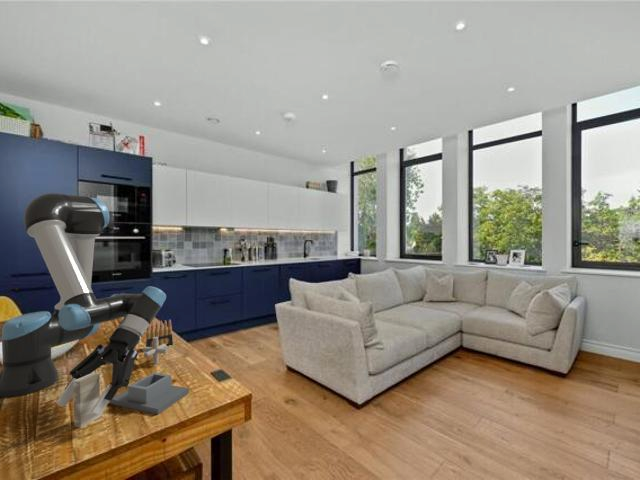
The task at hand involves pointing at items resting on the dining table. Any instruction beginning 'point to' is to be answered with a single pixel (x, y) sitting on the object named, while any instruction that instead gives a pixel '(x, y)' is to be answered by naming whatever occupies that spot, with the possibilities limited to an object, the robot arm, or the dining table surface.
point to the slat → (86, 399)
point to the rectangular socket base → (151, 394)
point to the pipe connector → (155, 350)
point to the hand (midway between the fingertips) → (77, 409)
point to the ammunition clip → (159, 334)
